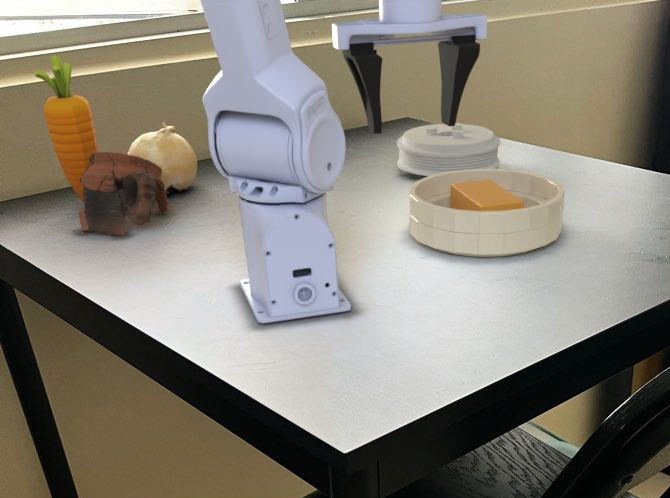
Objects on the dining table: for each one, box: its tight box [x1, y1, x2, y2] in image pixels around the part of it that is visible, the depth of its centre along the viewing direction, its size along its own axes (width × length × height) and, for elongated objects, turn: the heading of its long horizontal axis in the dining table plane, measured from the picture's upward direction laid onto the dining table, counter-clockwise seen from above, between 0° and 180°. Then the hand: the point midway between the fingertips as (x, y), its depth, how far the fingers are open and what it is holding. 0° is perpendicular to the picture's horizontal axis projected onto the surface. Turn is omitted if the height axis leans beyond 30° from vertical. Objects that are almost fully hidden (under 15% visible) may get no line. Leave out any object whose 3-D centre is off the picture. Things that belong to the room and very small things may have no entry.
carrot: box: [34, 55, 99, 203], centre depth 95 cm, size 5×5×15 cm
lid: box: [396, 122, 501, 177], centre depth 107 cm, size 13×13×5 cm
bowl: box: [408, 168, 566, 258], centre depth 87 cm, size 15×15×4 cm
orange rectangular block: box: [450, 179, 524, 211], centre depth 87 cm, size 8×4×4 cm, turn 18°
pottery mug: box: [78, 151, 169, 236], centre depth 92 cm, size 12×10×8 cm
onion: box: [127, 121, 198, 196], centre depth 102 cm, size 8×8×7 cm
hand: (412, 127), depth 85 cm, fingers open, 7 cm apart
